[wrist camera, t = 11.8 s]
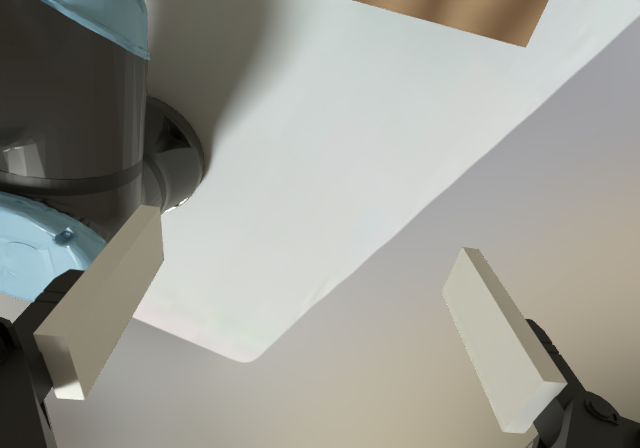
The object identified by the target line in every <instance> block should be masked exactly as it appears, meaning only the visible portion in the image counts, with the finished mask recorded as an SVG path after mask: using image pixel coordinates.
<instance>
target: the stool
mask: <svg viewBox="0 0 640 448" xmlns="http://www.w3.org/2000/svg"><path fill="white" fill-rule="evenodd" d="M354 1H358V2H361V3H365V4H368V5H372V6H376V7H379V8H383V9H387V10H390V11H394V12H397V13H401V14H405V15H408V16H412V17H416V18H419V19H423V20H427V21H430V22H434V23H437V24H441V25H445V26H448V27H452V28H456V29H459V30H463V31H466V32H470V33H474V34H477V35H481V36H485V37H488V38H492V39H496V40H499V41H503V42H506V43H510V44H514V45H517V46H522V47H526V46H527V44H528V42H529V40H530V38H531V36H532V33H533V31H534V29H535V27H536V25H537V23H538V21H539V19H540V17H541V15H542V13H543V11H544V9H545V7H546V4H547V2H548V0H354Z"/></svg>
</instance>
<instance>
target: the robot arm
mask: <svg viewBox="0 0 640 448" xmlns="http://www.w3.org/2000/svg"><path fill="white" fill-rule="evenodd" d="M150 59H151V56H150V53H149V52H148V27H147V8H146V5H145V2H144V0H0V292H2V293H4V294H7V295H9V296H12V297H15V298H18V299H22V300H26V301H30V302H32V303H31V304H30V305H29V306H28V307H27V308H26V310H25V311H24V312H23V313H22V314H21V315H20V316H19V317H18V318H17V319H16V321H14V323H13V324H12V323H11V322H10V320H7V319H5V318H2V317H0V448H57V445H56V441H55V438H54V434H53V430H52V426H51V422H50V419H49V415H48V411H47V408H46V404H45V401H44V399H45V397H46V395H47V394H48V392H49V391H50V390H51V388H52V387H53V389H54V391H55V394H56V397H57V398H64V399H77V400H85V399H86V397H87V395H88V393H89V392H90V390H91V388H92V386H93V385H94V383H95V381H96V379H97V378H98V376H99V374H100V372H101V370H102V369H103V367H104V365H105V363H106V362H107V360H108V358H109V356H110V355H111V353H112V351H113V349H114V348H115V346H116V344H117V342H118V340H119V339H120V337H121V335H122V333H123V332H124V330H125V328H126V326H127V325H128V323H129V321H130V319H131V317H132V316H133V314H134V312H135V310H136V309H137V307H138V305H139V303H140V302H141V300H142V298H143V296H144V294H145V293H146V291H147V289H148V287H149V286H150V284H151V282H152V280H153V279H154V277H155V275H156V273H157V271H158V270H159V268H160V266H161V264H162V263H163V261H164V253H163V241H162V228H161V214H163V213H164V212H167V211H170V210H173V209H175V208H177V207H179V206H181V205H182V204H183V203H185V202H186V201H187V200H188V199H189V198H190V197H191V196H192V194H193V193H194V191H195V190H196V189H197V187H198V185H199V184H200V182H201V179H202V176H203V172H204V155H203V150H202V147H201V144H200V141H199V139H198V137H197V135H196V133H195V132H194V130H193V129H192V127H191V126H190V125H189V123H188V122H187V121H186V120H185V119H184V118H183V117H182V116H181V115H180V114H179V113H178V112H177V111H176V110H174V109H173V108H171V107H170V106H168V105H167V104H165V103H163V102H162V101H160V100H157V99H155V98H153V97H150V96H146V92H147V68H148V61H150ZM441 293H442V295H443V297H444V299H445V302H446V304H447V306H448V309H449V311H450V313H451V315H452V318H453V320H454V322H455V324H456V327H457V329H458V331H459V334H460V336H461V338H462V340H463V343H464V345H465V347H466V349H467V352H468V354H469V356H470V359H471V361H472V363H473V365H474V368H475V370H476V372H477V375H478V377H479V379H480V381H481V383H482V386H483V388H484V390H485V393H486V395H487V397H488V399H489V402H490V404H491V406H492V409H493V411H494V413H495V415H496V418H497V420H498V422H499V425H500V427H501V429H502V431H503V432H514V433H525V432H526V431H527V429H528V428H529V427H530V426H531V425H532V424H534V425H535V427H536V429H537V431H538V433H539V434H538V435H537V436H536V437H535V438H534V439H533V441H531V443H530V444H529V445H528V446H527V447H526V448H640V423H637V422H635V421H632V420H629V419H627V418H624V417H621V416H620V415H619V414H618V412H617V411H616V410H615V409H614V408H613V406H611V404H610V403H608V402H607V401H606V400H604V399H603V398H602V397H600V396H598V395H596V394H594V393H592V392H588V391H586V390H585V389H584V387H583V386H582V384H581V383H580V382H579V380H578V379H577V377H576V376H575V375H574V373H573V372H572V370H571V369H570V367H569V366H568V364H567V363H566V362H565V360H564V359H563V357H562V356H561V355H559V351H558V350H557V349H556V347H555V346H554V345H552V342H551V340H550V339H549V337H548V336H547V335H546V333H545V332H544V330H542V328H540V327H539V326H538V325H537V324H536V323H535V322H534V321H533V320H530V319H525V318H524V317H523V315H522V314H521V312H520V311H519V309H518V308H517V306H516V305H515V303H514V302H513V300H512V299H511V297H510V296H509V294H508V293H507V291H506V290H505V288H504V287H503V285H502V284H501V283H500V281H499V279H498V278H497V276H496V275H495V273H494V272H493V270H492V269H491V267H490V266H489V264H488V263H487V261H486V260H485V258H484V256H483V255H482V253H481V252H480V250H479V249H473V248H464V247H462V250H461V252H460V254H459V256H458V258H457V260H456V262H455V265H454V267H453V269H452V271H451V273H450V275H449V277H448V279H447V282H446V284H445V286H444V288H443V290H442V292H441Z"/></svg>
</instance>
